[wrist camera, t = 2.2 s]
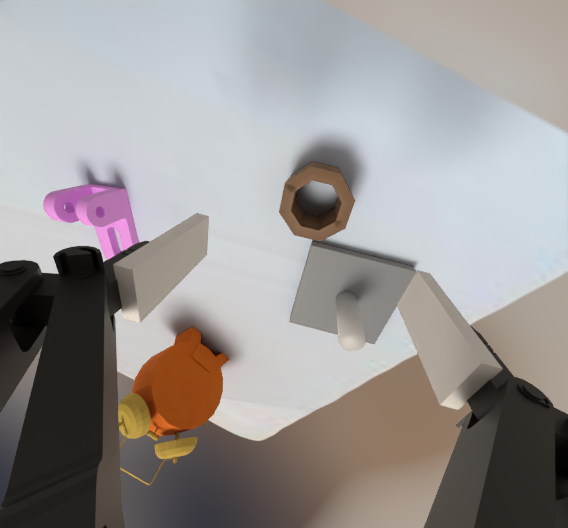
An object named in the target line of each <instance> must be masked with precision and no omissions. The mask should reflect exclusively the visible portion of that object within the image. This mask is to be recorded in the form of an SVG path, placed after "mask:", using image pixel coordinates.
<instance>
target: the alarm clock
mask: <svg viewBox="0 0 568 528" xmlns="http://www.w3.org/2000/svg"><path fill="white" fill-rule="evenodd" d="M228 360H229V359H228V358H227V357H226V356H225V355H224V354H223V353H221V354H219V355H217V356H215V355H214V354H213V353H212V352H211V351H210V349H208V348H207V347H205V346H204V345H202V344H201V333H200V332H199V331H198V330H197V329H196V328H195V327H191V328H190V329H188V330H186V331H184V332H183V333H181V334H179V335H177V336H176V339H175V343H174V345H173V346H171V347H169V348H167V349H166V350H164V351H162V352H160V353H158V354H156V355H155V356H153V357H151V358H150V359H149V360H148V361H147V362H146V363H145V364H144V365H143V366H142V368H141V370H140V371H139V373H138V375H137V376H136V378H135V382H134V386H133V390H132V393H131V394H129V395H127V396H126V397H125V398H124V399H123V400H121V401H120V403H119V405H118V419H119V430H120V431H121V433H122V434H123V435H124V436H125V439H126V437H127V438H138V437H141V436H143V435H144V434H146V433H147V435H148V436H150V437H151V438H153V439H154V440H156V441H157V440H158V438H159V436H164V435H174V434H176V437H175V440H173V441H168V442H164V443H160V444H157V445H155V453H156V455H157V456H158V458H161V459H168V458H173V457H174V459H173V463H177V457H178V456H182V455H186V454H188V453H190V452H191V451H193V449H194V447H195V446H196V442H197V437H192V438H184V439H179V433H180V432H184V431H187V430H190V429H194V428H195V427H198V426H200V425H202V424H204V423H205V422H206V421H207V420H208V419H209V418H210V417H211V416H212V415H213V414H214V412H215V410H216V409H217V407H218V405H219V403H220V399H221V395H222V391H223V377H222V372H221V366H222V365H223V364H225V363H226V362H227V361H228ZM158 435H159V436H158ZM125 439H124V440H123V442H124V441H125ZM123 442H122V444H123ZM122 444H121V446H122ZM121 446H120V447H119V449H120V448H121ZM163 462H164V461H163ZM163 462H162V464H163ZM162 464H161V465H160V467H159V469H158V471H157V473H158V472H159V470H160V468H161V466H162ZM120 469H121V470H123V471H125V472H127V471H126V470H124V469H122V468H120ZM127 473H128V474H130V475H132V474H131V473H129V472H127ZM157 473H156V474H155V476H154V478H153V480H152V482H153V481H154V479H155V477H156V475H157ZM132 476H133V477H135V478H137V479H139V478H138V477H136V476H134V475H132ZM139 480H140V481H142V482H144V481H143V480H141V479H139ZM152 482H151V483H150V484H152ZM144 483H145V484H147V485H150V484H148V483H146V482H144Z"/></svg>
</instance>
